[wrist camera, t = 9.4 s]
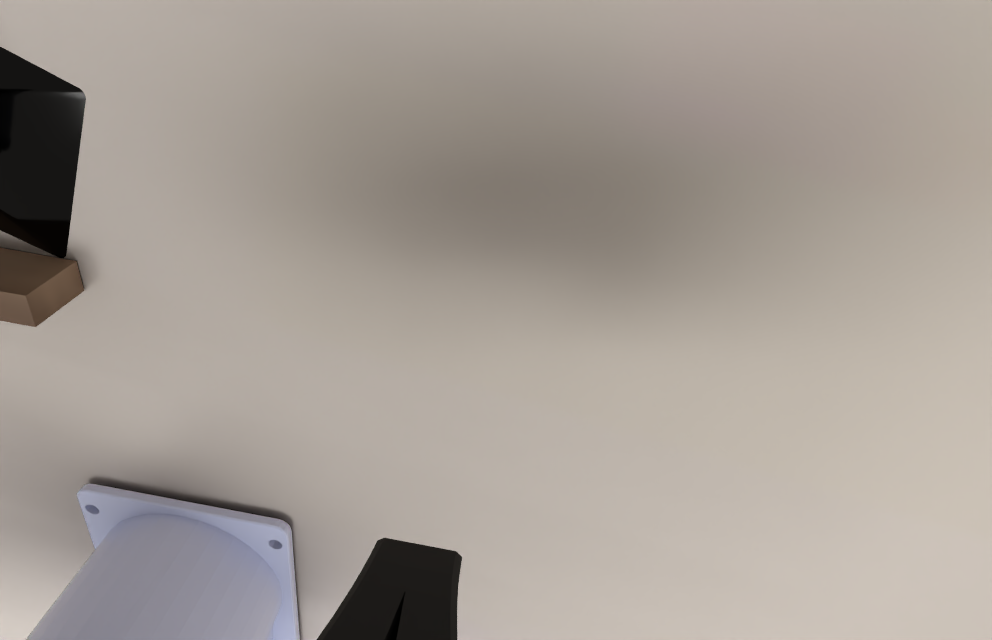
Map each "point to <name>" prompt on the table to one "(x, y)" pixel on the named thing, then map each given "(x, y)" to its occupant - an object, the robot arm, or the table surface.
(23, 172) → the black bevelled base
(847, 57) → the table surface
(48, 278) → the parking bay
